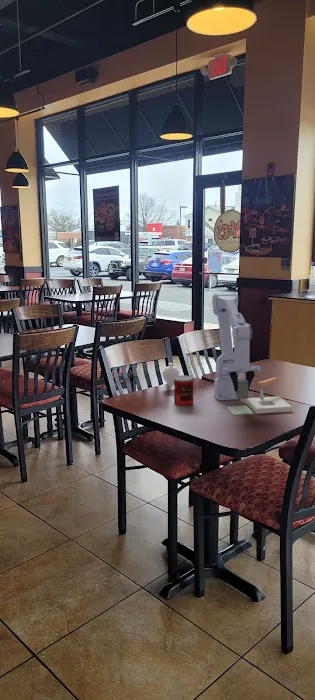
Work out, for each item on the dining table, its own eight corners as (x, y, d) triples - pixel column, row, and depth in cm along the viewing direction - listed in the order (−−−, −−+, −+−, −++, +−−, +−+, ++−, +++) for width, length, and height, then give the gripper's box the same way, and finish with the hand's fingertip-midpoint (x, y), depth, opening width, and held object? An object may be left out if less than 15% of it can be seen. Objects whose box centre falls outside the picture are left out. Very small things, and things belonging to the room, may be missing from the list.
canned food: (180, 399, 216) (180, 374, 214) (197, 402, 212) (196, 376, 209) (170, 404, 210) (169, 378, 208) (187, 407, 205) (186, 381, 203)
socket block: (256, 413, 196) (256, 396, 195) (245, 402, 210) (246, 386, 208) (291, 411, 197) (292, 393, 196) (279, 401, 211) (279, 384, 210)
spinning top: (178, 391, 229) (177, 365, 226) (161, 391, 230) (160, 365, 228) (180, 386, 236) (180, 361, 234) (164, 386, 237) (163, 361, 235)
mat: (233, 415, 195) (233, 414, 195) (226, 407, 205) (226, 406, 205) (253, 413, 196) (253, 413, 196) (246, 406, 206) (246, 405, 206)
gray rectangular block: (238, 399, 197) (238, 381, 196) (235, 396, 201) (235, 379, 200) (248, 398, 198) (248, 381, 196) (245, 395, 201) (245, 378, 200)
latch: (262, 386, 206) (262, 383, 205) (257, 385, 207) (257, 382, 207) (278, 381, 213) (278, 378, 213) (273, 380, 215) (273, 377, 215)
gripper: (225, 359, 191) (225, 394, 194) (263, 357, 193) (263, 392, 196) (221, 355, 198) (221, 389, 201) (257, 353, 200) (257, 387, 203)
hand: (241, 390), depth 199 cm, fingers closed on gray rectangular block, 4 cm apart
